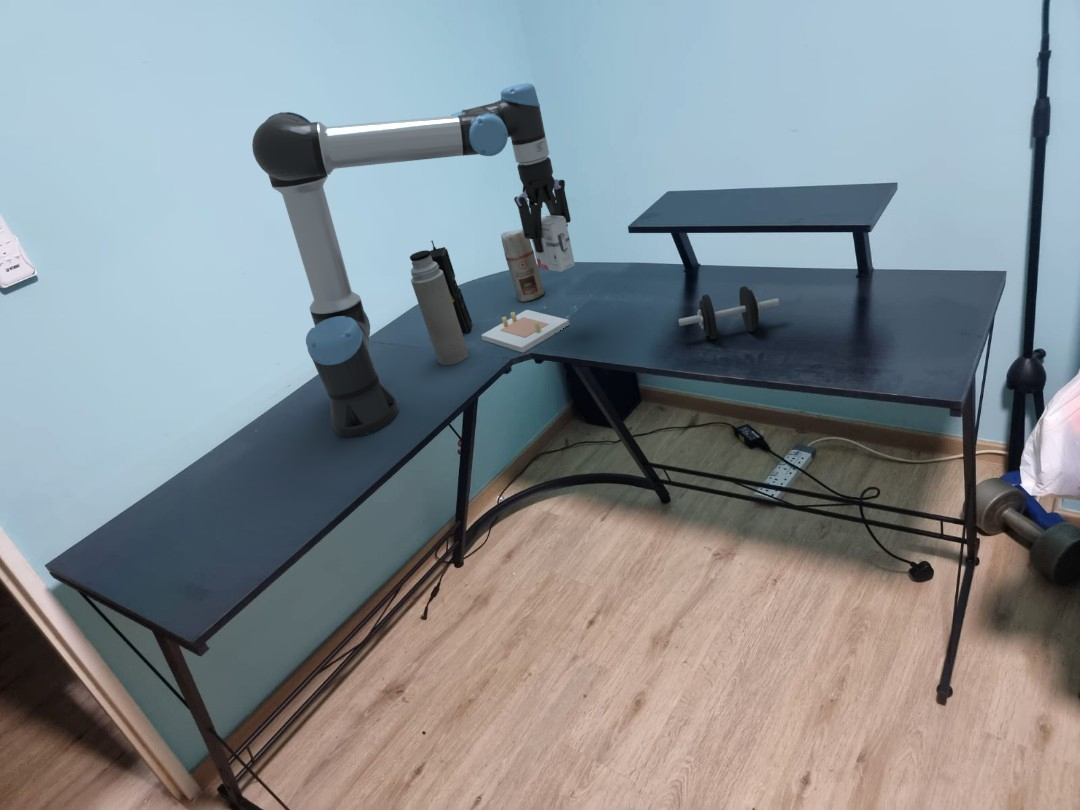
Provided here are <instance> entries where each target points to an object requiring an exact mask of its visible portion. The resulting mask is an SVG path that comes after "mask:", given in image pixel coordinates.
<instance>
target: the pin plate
mask: <svg viewBox="0 0 1080 810" xmlns="http://www.w3.org/2000/svg"><path fill="white" fill-rule="evenodd" d="M501 320H502V321H501V322H502V323H500V324H498V325H496V326H495V327H493V328H492V329H489V330H488V331H486V332H484V333H482V334H481V339H482V341H485V342H488V343H492V344H493V345H496V346H497V345H498V346H501V347H504V348H506V349H509V350H513V351H515V352H520V353H522V354H524V353H526V352H527V351H528V350H530V349H532V348H534V347H535V346H537V345H538V344H540V343H542V342H543V341H546V340H547V339H549V338H550V337H552V336H554V335H556V334H557V333H560V332H561V331H562V330H564V329H566V328H567V327H566V326H568V325H569V326H570V320H569V319H567V318H562V317H559V316H554V315H550V314H546V313H543V312H542V313H541V312H538V311H533V310H530V309H525V310H524V311H522V312H520V313H518V314H517V315H516V311H512V312H510V318H509V319H507V316H502V317H501ZM569 326H568V327H569ZM565 327H566V328H565ZM563 328H564V329H563ZM560 330H561V331H560ZM555 333H556V334H555Z"/></svg>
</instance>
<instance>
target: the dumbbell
mask: <svg viewBox="0 0 1080 810" xmlns="http://www.w3.org/2000/svg"><path fill="white" fill-rule="evenodd" d="M738 297H739V306H736V307H732V308H726V309H722V310H718V311H717V310H716V311H715V310H714V306H713V303H712V299H711V298H710V296H709V294H703V295H702V296H701V300H699V302H698V303H699V308H698V309H697V315H691V316H688V317H682V318H679V319H678V320H677V321H678V325H679V326H682V327H683V326H686V325H692V324H696V323H698V324H699V326H700V328H701V330H703V332H704V334H705V336H706V337H709V339H710V340H716V339H717V337H718V336H717V335H718V329H717V328H718V327H717V321H716V319H717V318H719V319H720V318H723V317H726V316H727V317H728V316H733V315H738V314H741V317H742V319H743V322H744V323H743V324H744V326H745V328H746V330H747V331H748V332H751V333H752V332H754V331H755V330H756V326H758V325H759V318H760V317H761V316H760V310H764V309H769V308H772V307H779V305H780V301H779V298H772V299H767V300H762V301H759V300H758V298H757V297H755V294H754V292H753V290H752V289H749V287H748V286H746V285H745V286H744V285H743V286H742V287H740V288H739V296H738Z"/></svg>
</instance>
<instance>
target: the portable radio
mask: <svg viewBox="0 0 1080 810" xmlns="http://www.w3.org/2000/svg"><path fill="white" fill-rule="evenodd" d="M430 243H432V244H431V245H432V249H431V250H429V251H430V256H431V257H432V260H433V261H434V262H436V263H437V264H438V265H439V269H440V270H442V271H443V273H444V276H445V280H446V283H447V286H448V289H449V292H450V296H451V299H452V302H453V305H454V309H455V312H456V315H457V318H458V321H459V324H460V327H461V331H462V334H463V335H466V334H469V333H470V331H471V328H472V322H473V320H472V318H471V315H470V313H469V310H468V307H467V305H466V301H465V299H464V296H463V292H462V290H461V288H459V286H458V283H457V281H456V274H455V270H454V268H453V267H454V266H453V265H452V261H451V258H450V255H449V252H448V249H447V248H446V247H445V246H444V247H439V248H437V247H436V246H435V244H434V240H431V241H430Z"/></svg>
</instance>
